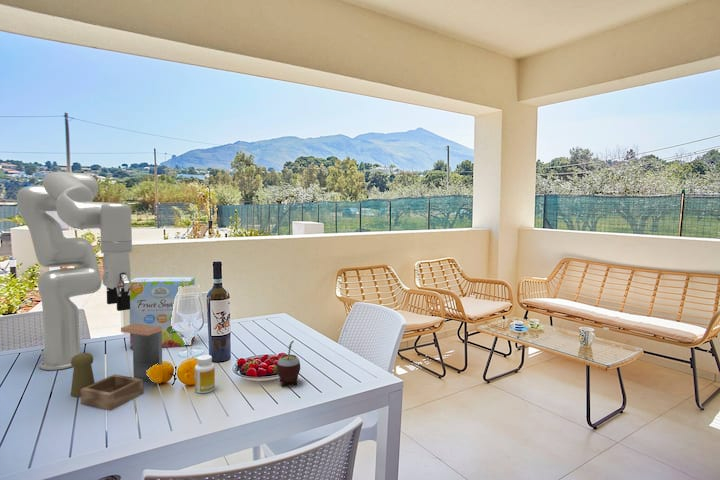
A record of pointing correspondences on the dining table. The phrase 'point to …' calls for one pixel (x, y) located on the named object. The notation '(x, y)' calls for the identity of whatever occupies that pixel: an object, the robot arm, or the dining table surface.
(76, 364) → the cork
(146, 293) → the snack box
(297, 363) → the mate gourd
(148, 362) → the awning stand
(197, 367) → the supplement bottle
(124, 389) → the socket block
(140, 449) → the dining table surface
